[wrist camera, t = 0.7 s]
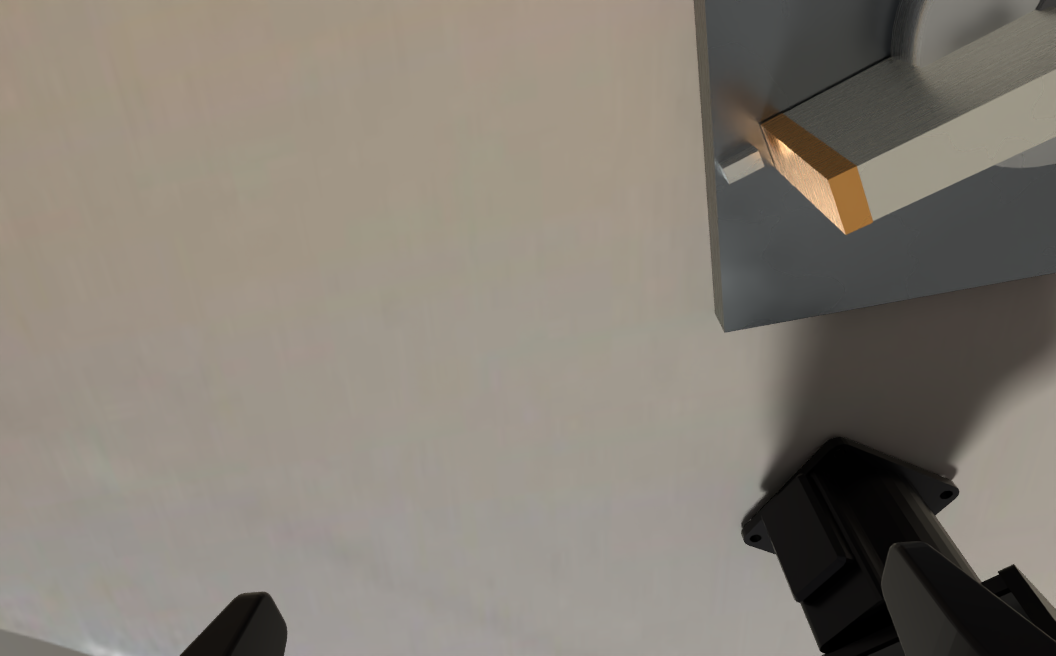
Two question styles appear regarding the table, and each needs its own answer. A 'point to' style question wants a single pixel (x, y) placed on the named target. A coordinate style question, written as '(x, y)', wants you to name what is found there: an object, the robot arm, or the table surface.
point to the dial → (927, 110)
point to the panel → (797, 224)
